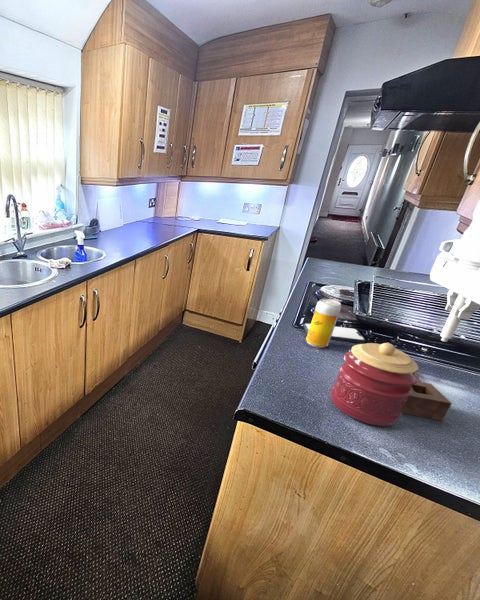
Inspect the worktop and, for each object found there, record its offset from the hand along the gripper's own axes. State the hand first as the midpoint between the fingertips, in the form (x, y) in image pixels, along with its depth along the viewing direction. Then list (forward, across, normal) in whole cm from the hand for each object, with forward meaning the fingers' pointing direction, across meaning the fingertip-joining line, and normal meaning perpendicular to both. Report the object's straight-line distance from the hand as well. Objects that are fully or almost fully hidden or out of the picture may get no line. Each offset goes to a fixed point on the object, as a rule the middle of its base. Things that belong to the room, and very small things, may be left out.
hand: (456, 314), depth 70 cm
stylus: (+6, 0, 0) cm, 6 cm away
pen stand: (+24, -1, 0) cm, 24 cm away
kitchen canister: (+24, -6, +12) cm, 28 cm away
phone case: (+24, +35, +6) cm, 43 cm away
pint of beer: (+24, +26, +13) cm, 38 cm away
